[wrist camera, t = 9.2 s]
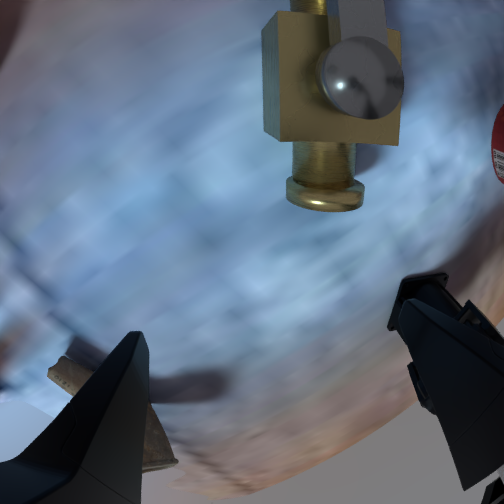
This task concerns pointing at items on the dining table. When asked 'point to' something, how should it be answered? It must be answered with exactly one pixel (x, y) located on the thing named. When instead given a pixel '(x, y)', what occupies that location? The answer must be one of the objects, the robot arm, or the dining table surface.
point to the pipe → (155, 440)
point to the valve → (315, 111)
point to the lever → (359, 61)
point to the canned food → (498, 145)
